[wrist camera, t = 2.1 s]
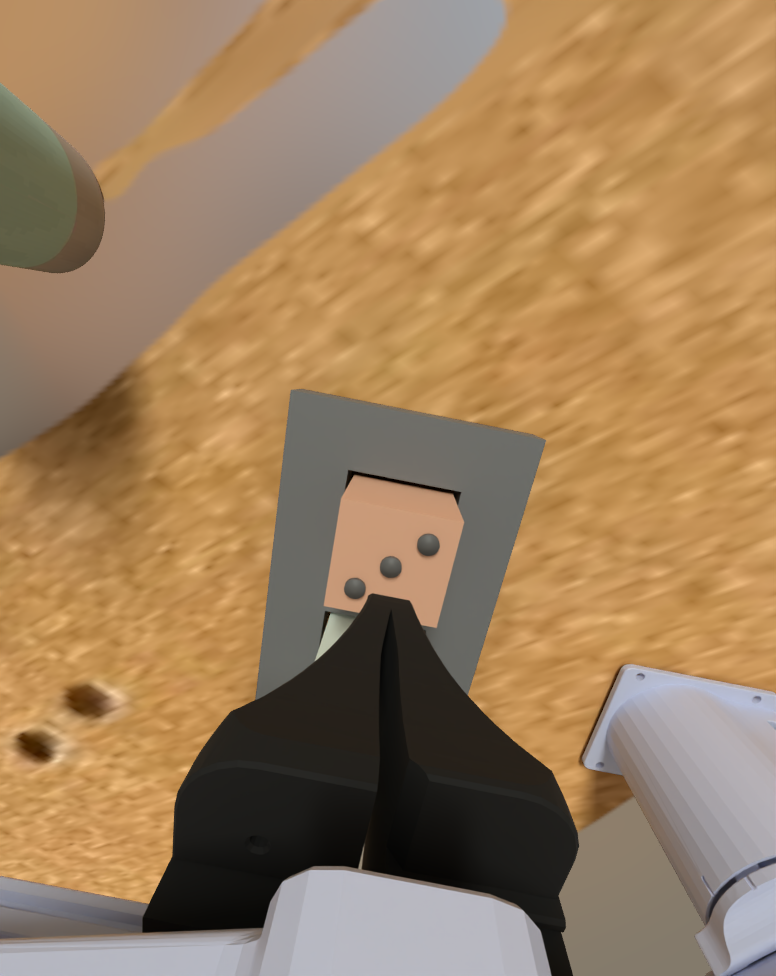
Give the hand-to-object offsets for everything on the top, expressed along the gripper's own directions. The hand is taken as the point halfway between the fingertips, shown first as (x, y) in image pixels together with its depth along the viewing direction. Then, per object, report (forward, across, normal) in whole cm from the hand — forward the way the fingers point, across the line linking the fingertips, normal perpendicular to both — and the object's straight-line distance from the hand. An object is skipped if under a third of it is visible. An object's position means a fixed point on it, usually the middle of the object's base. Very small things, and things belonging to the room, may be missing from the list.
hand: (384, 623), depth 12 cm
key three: (+8, 0, 0) cm, 8 cm away
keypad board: (+9, 0, +8) cm, 12 cm away
